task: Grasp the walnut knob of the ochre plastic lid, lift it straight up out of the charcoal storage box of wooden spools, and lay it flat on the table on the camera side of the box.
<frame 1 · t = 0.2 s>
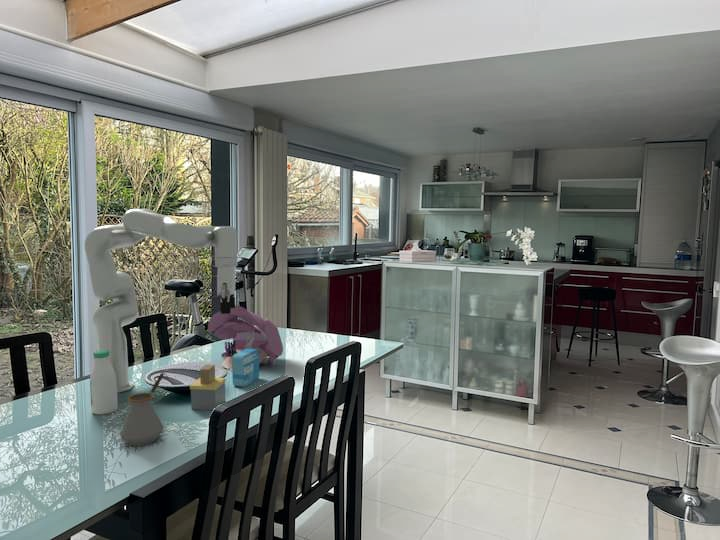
hand: (228, 310, 179), 31 cm above the table, fingers open, 9 cm apart
pink curved piece: (246, 364, 219), on the table
lid: (208, 385, 172), point 7 cm above the table, touching box
coffee pot: (150, 433, 152), on the table
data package: (246, 383, 196), on the table
box: (208, 405, 173), on the table
milk bottle: (105, 411, 168), on the table
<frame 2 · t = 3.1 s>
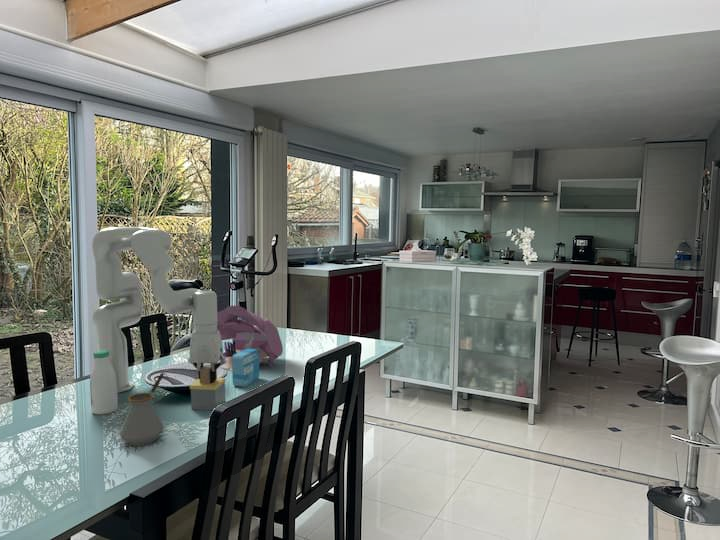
hand: (207, 381, 172), 8 cm above the table, fingers closed on lid, 3 cm apart
lid: (207, 385, 172), point 7 cm above the table, touching box, gripper
everything else where it was.
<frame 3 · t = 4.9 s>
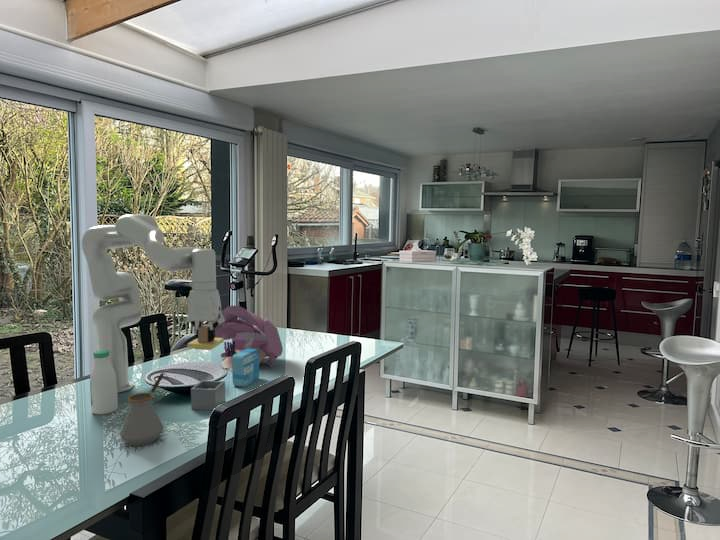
hand: (205, 340, 170), 22 cm above the table, fingers closed on lid, 3 cm apart
lid: (206, 344, 171), point 21 cm above the table, touching gripper
everything else where it was.
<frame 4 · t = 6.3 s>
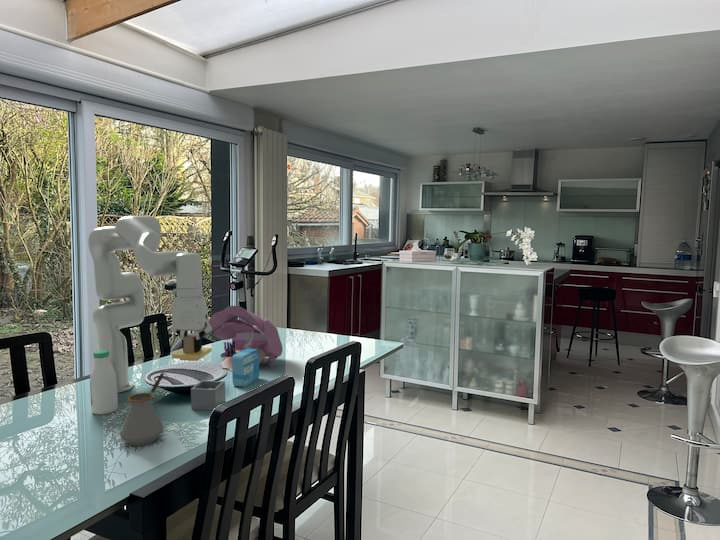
hand: (192, 350, 159), 22 cm above the table, fingers closed on lid, 3 cm apart
lid: (192, 354, 160), point 21 cm above the table, touching gripper
everything else where it was.
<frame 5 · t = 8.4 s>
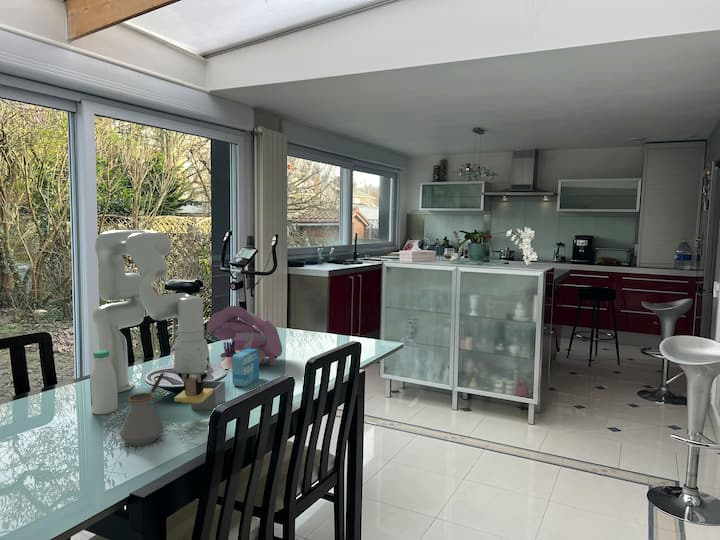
hand: (194, 392, 161), 8 cm above the table, fingers closed on lid, 3 cm apart
lid: (194, 396, 161), point 7 cm above the table, touching gripper
everything else where it was.
when the fingers open (3 cm above the table, at t = 9.8 s): lid drops 1 cm, point 1 cm above the table.
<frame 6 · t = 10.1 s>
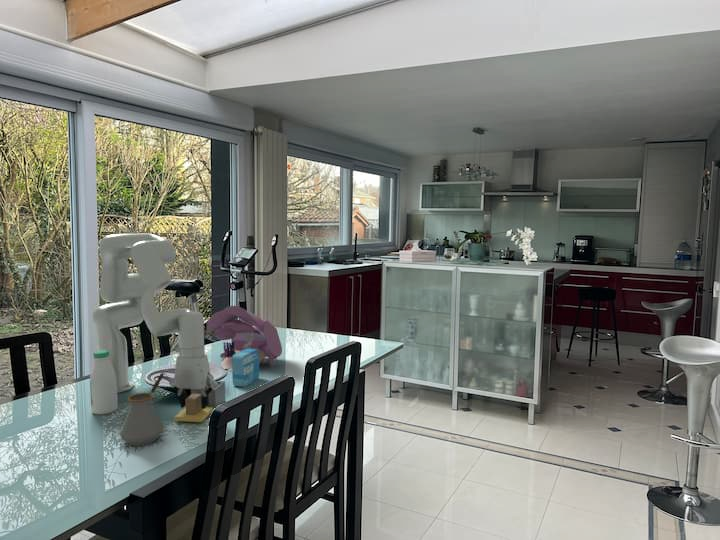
hand: (194, 406, 162), 4 cm above the table, fingers open, 6 cm apart
lid: (194, 415, 162), point 1 cm above the table
everything else where it was.
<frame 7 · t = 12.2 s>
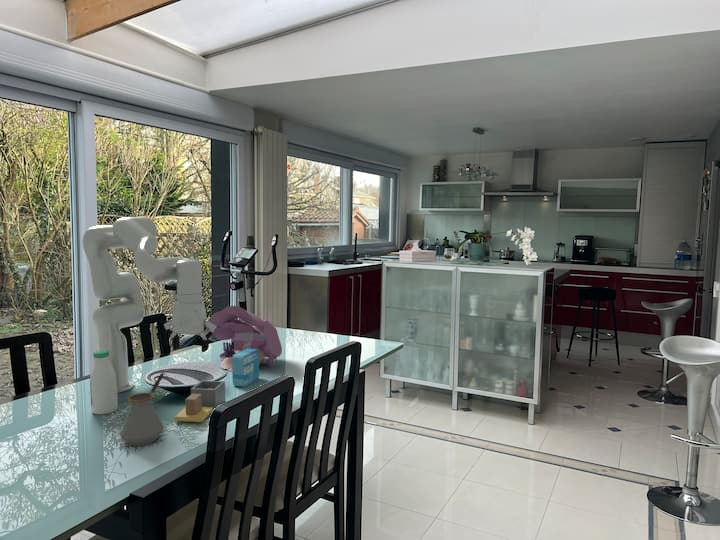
hand: (190, 350, 165), 20 cm above the table, fingers open, 9 cm apart
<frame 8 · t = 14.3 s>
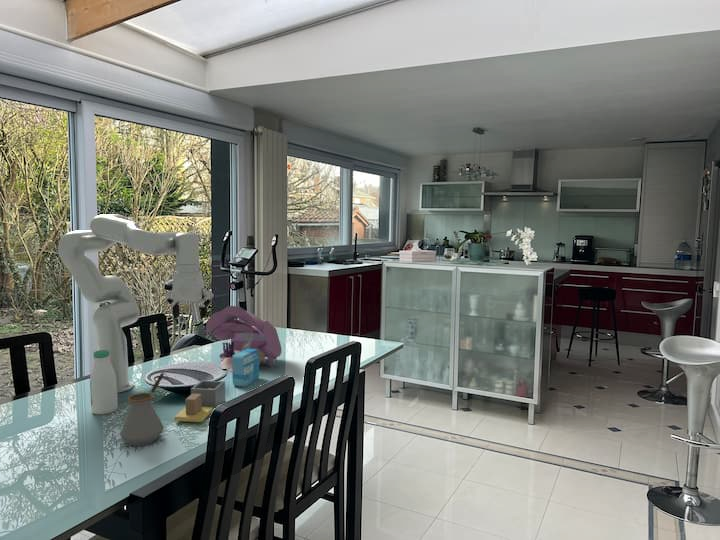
hand: (189, 317, 178), 28 cm above the table, fingers open, 9 cm apart
at the end: lid inside the target area (0.1 cm from its centre), point 0.9 cm above the table; lid tilted 0°; lid touching table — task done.
